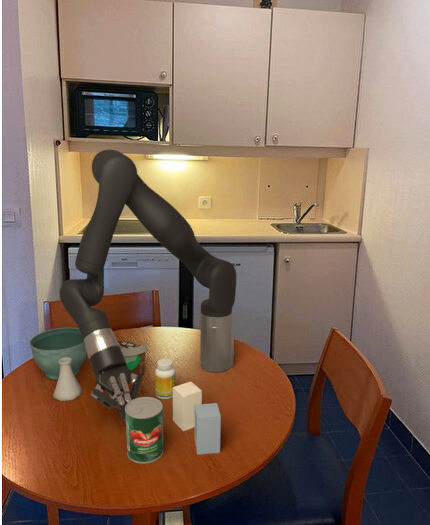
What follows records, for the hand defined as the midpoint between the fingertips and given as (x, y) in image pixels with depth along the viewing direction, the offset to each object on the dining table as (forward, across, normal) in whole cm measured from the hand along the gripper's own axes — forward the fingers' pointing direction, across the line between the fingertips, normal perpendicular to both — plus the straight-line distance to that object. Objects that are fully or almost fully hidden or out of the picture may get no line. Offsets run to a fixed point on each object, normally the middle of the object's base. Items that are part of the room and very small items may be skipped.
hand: (130, 421), depth 100 cm
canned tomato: (+7, 0, +1) cm, 7 cm away
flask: (-16, +4, -23) cm, 28 cm away
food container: (-16, -12, -22) cm, 30 cm away
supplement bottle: (-5, -16, -11) cm, 20 cm away
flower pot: (-25, +1, -32) cm, 40 cm away
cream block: (+5, -14, -1) cm, 15 cm away
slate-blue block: (+12, -12, +6) cm, 18 cm away
